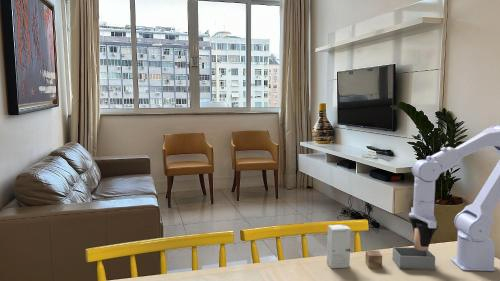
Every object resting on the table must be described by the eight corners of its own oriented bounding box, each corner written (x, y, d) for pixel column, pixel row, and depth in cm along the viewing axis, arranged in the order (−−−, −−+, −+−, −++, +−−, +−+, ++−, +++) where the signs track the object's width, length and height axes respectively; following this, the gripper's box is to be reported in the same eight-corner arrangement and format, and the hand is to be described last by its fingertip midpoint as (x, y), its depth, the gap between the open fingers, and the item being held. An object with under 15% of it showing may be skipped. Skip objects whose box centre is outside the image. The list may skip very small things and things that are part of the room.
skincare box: (331, 268, 113) (331, 229, 112) (326, 262, 118) (326, 224, 117) (350, 267, 114) (351, 228, 113) (344, 261, 119) (345, 224, 117)
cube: (378, 262, 118) (378, 250, 117) (381, 268, 114) (382, 255, 113) (365, 262, 118) (365, 250, 118) (368, 268, 114) (368, 255, 114)
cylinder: (425, 245, 118) (425, 226, 117) (430, 250, 114) (431, 231, 113) (412, 245, 118) (412, 226, 117) (417, 250, 114) (417, 231, 113)
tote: (425, 260, 119) (425, 247, 119) (434, 269, 113) (435, 257, 112) (392, 259, 120) (392, 247, 120) (399, 269, 113) (400, 256, 113)
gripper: (402, 193, 121) (400, 234, 123) (419, 206, 107) (417, 252, 109) (424, 194, 121) (422, 235, 122) (445, 206, 107) (442, 253, 108)
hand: (421, 243), depth 115 cm, fingers closed on cylinder, 4 cm apart
